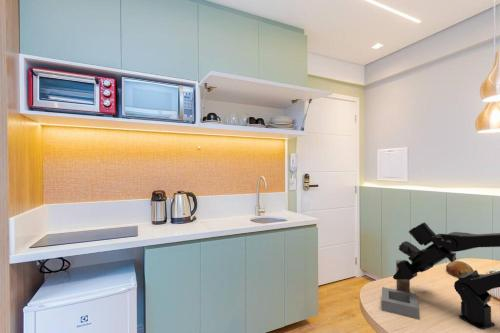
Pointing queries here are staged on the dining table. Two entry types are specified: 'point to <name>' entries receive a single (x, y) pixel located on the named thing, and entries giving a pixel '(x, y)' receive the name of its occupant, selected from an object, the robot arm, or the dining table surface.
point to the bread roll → (458, 268)
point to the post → (402, 282)
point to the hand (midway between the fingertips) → (399, 275)
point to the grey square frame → (400, 302)
